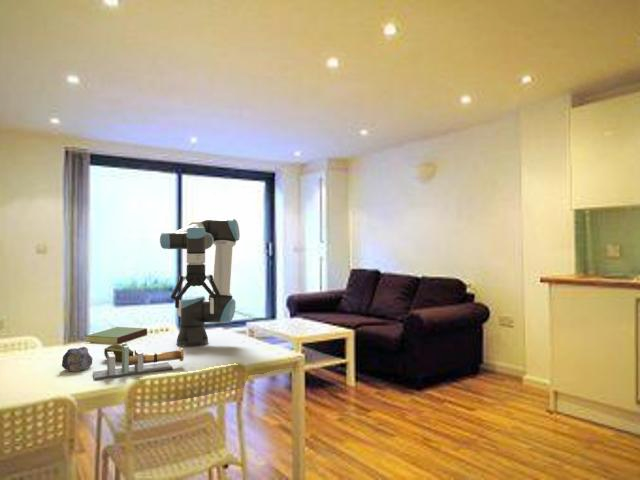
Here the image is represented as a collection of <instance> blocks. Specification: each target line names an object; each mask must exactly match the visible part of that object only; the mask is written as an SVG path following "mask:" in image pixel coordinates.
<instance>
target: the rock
mask: <svg viewBox="0 0 640 480" xmlns="http://www.w3.org/2000/svg"><path fill="white" fill-rule="evenodd" d="M92 365H93V357H92V356H91V354H90V352H89V349H88V347H85V346H81V347H79V348H70V349H68V350H67V351H66V352H65V353H64V354H63V356H62V364H61V367H62V368H63V369H65V371H68V372H70V373H75V372H76V373H77V372H83V371H86V370H87V369H88V368H90V367H91V366H92Z"/></svg>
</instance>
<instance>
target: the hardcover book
mask: <svg viewBox="0 0 640 480" xmlns="http://www.w3.org/2000/svg"><path fill="white" fill-rule="evenodd" d="M146 335H148V327H147V328H145V327H144V328H143V327H127V326H126V327H124V326H115V327H112V328H109V329H108V328H107V329H106V330H101V331H97V332H94V333H91V334H87V335H86V343H96V344H98V343H99V344H111V345H121V344H122V343H127V342H128V341H131V340H135V339H137V338H141V337H143V336H146Z"/></svg>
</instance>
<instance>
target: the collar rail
mask: <svg viewBox="0 0 640 480" xmlns="http://www.w3.org/2000/svg"><path fill="white" fill-rule="evenodd" d="M121 345H122V362H121V367H120V368H119V367H118V368H116V362H115V355H114V353H113V352H107V358H106V361H107V362H106V364H107V365H106V367H107V369H103V370H96V371H92V376H93V381H102V380H107V379H109V380H110V379H116V378H123V377H131V376H139V375H146V374H153V373H161V372H167V371H169V372H170V371H173V366H172V365H171V364H170V363H169V361H168V362H167V361H165V362H157V363H149V364H143V355H144V352H143V351H142V349H141V348H135V349H134V356H136V355H137V365H133V366H130V365H129V349H130V346H129V345H128V343H127V342H123V343H121Z"/></svg>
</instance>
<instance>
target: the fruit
mask: <svg viewBox="0 0 640 480" xmlns="http://www.w3.org/2000/svg"><path fill="white" fill-rule="evenodd" d="M103 351H104V352H103V354H104V357H105V359H107V352H113V353H114V355H115V363H122V344H111V345H108V346H107V347H106V348H103ZM129 356H134V351H133V350H132V349H131V348H129Z"/></svg>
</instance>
